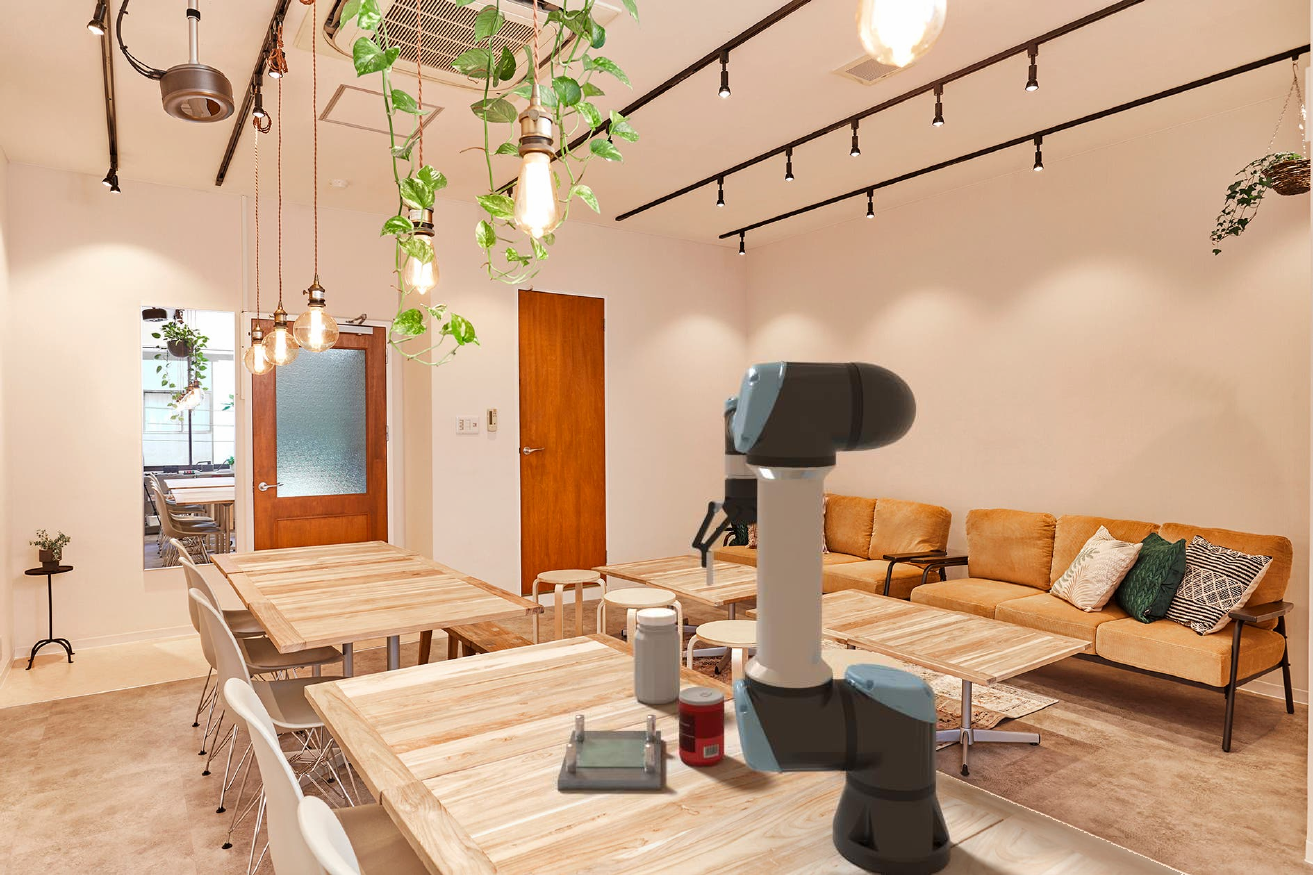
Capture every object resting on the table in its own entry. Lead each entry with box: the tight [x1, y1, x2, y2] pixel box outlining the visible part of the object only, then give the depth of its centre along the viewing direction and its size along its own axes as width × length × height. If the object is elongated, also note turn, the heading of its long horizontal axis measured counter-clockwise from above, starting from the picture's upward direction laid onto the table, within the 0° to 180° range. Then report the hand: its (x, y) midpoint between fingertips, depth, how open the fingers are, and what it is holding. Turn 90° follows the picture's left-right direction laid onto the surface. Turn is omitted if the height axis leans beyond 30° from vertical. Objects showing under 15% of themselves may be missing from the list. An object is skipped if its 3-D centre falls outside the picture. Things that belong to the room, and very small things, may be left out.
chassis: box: [557, 714, 662, 791], centre depth 130 cm, size 20×16×6 cm
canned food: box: [678, 686, 725, 768], centre depth 132 cm, size 8×8×11 cm
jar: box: [633, 607, 681, 705], centre depth 162 cm, size 10×10×18 cm
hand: (744, 586), depth 150 cm, fingers open, 13 cm apart
